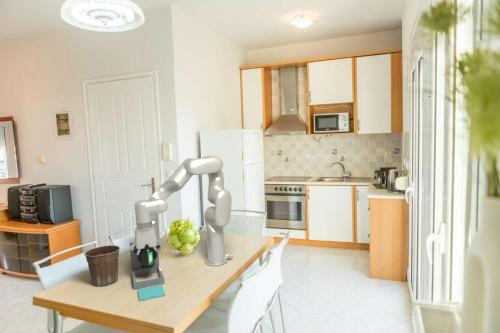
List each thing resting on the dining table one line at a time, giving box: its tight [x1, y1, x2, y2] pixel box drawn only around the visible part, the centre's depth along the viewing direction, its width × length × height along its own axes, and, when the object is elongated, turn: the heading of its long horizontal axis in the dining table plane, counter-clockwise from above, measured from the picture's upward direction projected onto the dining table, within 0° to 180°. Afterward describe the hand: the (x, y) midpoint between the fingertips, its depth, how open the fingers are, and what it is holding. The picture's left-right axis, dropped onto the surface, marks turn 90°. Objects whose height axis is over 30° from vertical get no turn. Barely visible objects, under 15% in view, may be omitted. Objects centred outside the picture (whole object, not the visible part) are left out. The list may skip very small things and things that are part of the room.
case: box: [129, 241, 165, 290], centre depth 168 cm, size 14×20×17 cm
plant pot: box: [83, 245, 121, 287], centre depth 167 cm, size 16×16×16 cm
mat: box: [137, 284, 166, 302], centre depth 152 cm, size 11×11×1 cm
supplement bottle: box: [140, 244, 155, 269], centre depth 167 cm, size 7×7×12 cm
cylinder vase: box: [151, 214, 161, 252], centre depth 213 cm, size 12×12×25 cm
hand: (147, 259), depth 167 cm, fingers closed on supplement bottle, 6 cm apart
